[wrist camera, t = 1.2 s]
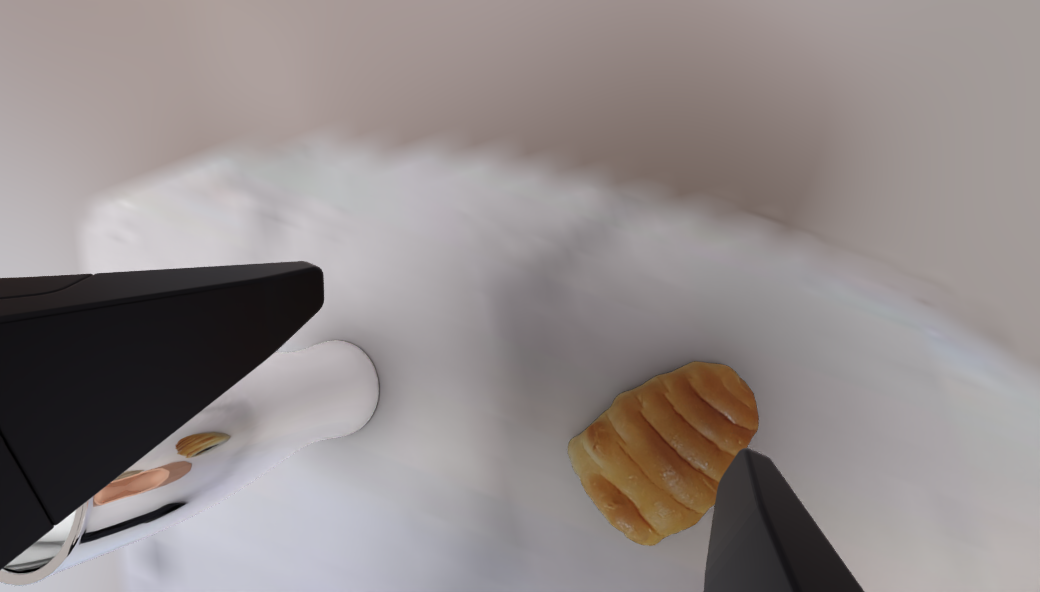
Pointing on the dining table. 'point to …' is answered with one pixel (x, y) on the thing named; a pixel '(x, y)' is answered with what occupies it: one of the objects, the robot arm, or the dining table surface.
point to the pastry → (665, 449)
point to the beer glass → (215, 454)
